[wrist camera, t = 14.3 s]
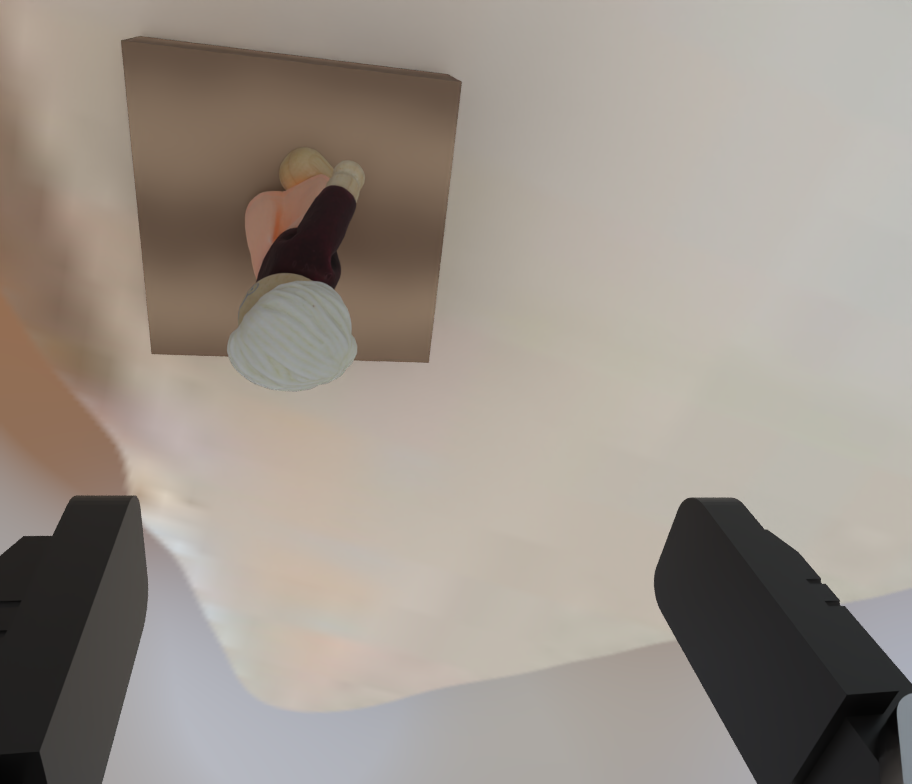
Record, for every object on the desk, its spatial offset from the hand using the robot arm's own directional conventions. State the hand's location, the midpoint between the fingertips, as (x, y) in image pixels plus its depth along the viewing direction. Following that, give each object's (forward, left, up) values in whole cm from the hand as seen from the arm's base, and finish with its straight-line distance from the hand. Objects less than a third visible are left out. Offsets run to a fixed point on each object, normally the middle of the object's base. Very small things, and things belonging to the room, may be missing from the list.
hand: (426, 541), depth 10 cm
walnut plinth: (+1, -2, -23) cm, 23 cm away
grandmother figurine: (+1, -2, -21) cm, 21 cm away
